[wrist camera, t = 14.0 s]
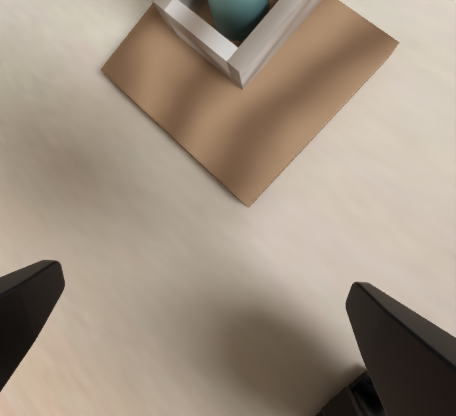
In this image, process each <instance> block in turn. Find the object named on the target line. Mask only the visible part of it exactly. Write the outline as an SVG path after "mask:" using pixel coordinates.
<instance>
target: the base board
mask: <svg viewBox="0 0 456 416" xmlns="http://www.w3.org/2000/svg"><path fill="white" fill-rule="evenodd" d="M153 2H154V3H153V4H152V5H151V7H150V8H149V9H148V10H147V12H146V13H145V14H144V15H143V17H142V18H141V19H140V20H139V22H138V23H137V24H136V25H135V27H134V28H133V29H132V31H131V32H130V33H129V34H128V36H127V37H126V38H125V39H124V41H123V42H122V43H121V44H120V46H119V47H118V48H117V49H116V51H115V52H114V53H113V54H112V56H111V57H110V58H109V60H108V61H107V62H106V63H105V65H104V66H103V67H102V68H101V71H102V72H103V73H104V74H105V75H106V76H108V77H109V78H110V79H111V80H112V81H113V82H114V83H115V84H116V85H117V86H118V87H119V88H120V89H122V90H123V91H124V92H125V93H126V94H127V95H128V96H129V97H130V98H131V99H132V100H133V101H134V102H135V103H137V104H138V105H139V106H140V107H141V108H142V109H143V110H144V111H145V112H146V113H147V114H148V115H149V116H151V117H152V118H153V119H154V120H155V121H156V122H157V123H158V124H159V125H160V126H161V127H162V128H163V129H164V130H166V131H167V132H168V133H169V134H170V135H171V136H172V137H173V138H174V139H175V140H176V141H177V142H178V143H179V144H181V145H182V146H183V147H184V148H185V149H186V150H187V151H188V152H189V153H190V154H191V155H192V156H193V157H195V158H196V159H197V160H198V161H199V162H200V163H201V164H202V165H203V166H204V167H205V168H206V169H207V170H208V171H210V172H211V173H212V174H213V175H214V176H215V177H216V178H217V179H218V180H219V181H220V182H221V183H222V184H224V185H225V186H226V187H227V188H228V189H229V190H230V191H231V192H232V193H233V194H234V195H235V196H236V197H237V198H239V199H240V200H241V201H242V202H243V203H244V204H245V205H246V206H247V207H250V206H251V205H252V203H253V202H254V201H255V200H256V199H257V198H258V197H259V196H260V195H261V194H262V193H263V192H264V191H265V190H266V188H267V187H268V186H269V185H270V184H271V183H272V182H273V181H274V180H275V179H276V178H277V177H278V176H279V174H280V173H281V172H282V171H283V170H284V169H285V168H286V167H287V166H288V165H289V164H290V163H291V162H292V161H293V159H294V158H295V157H296V156H297V155H298V154H299V153H300V152H301V151H302V150H303V149H304V148H305V147H306V146H307V144H308V143H309V142H310V141H311V140H312V139H313V138H314V137H315V136H316V135H317V134H318V133H319V132H320V130H321V129H322V128H323V127H324V126H325V125H326V124H327V123H328V122H329V121H330V120H331V119H332V118H333V117H334V115H335V114H336V113H337V112H338V111H339V110H340V109H341V108H342V107H343V106H344V105H345V104H346V103H347V101H348V100H349V99H350V98H351V97H352V96H353V95H354V94H355V93H356V92H357V91H358V90H359V89H360V88H361V86H362V85H363V84H364V83H365V82H366V81H367V80H368V79H369V78H370V77H371V76H372V75H373V74H374V72H375V71H376V70H377V69H378V68H379V67H380V66H381V65H382V64H383V63H384V62H385V61H386V60H387V59H388V57H389V56H390V55H391V54H392V52H393V51H394V50H395V48H396V47H397V45H398V44H399V42H398V41H397V40H395V39H394V38H392V37H391V36H389V35H388V34H386V33H385V32H384V31H382V30H381V29H379V28H378V27H376V26H375V25H373V24H372V23H371V22H369V21H368V20H366V19H365V18H363V17H362V16H360V15H359V14H358V13H356V12H355V11H353V10H352V9H350V8H349V7H348V6H346V5H345V4H343V3H342V2H340V1H339V0H269V12H268V14H267V15H266V16H265V17H264V18H263V19H262V21H261V22H260V23H259V24H258V25H257V26H256V28H255V29H254V30H253V31H252V32H251V34H250V35H249V36H248V37H247V38H246V39H245V40H242V41H233V40H229V39H227V38H225V37H224V36H223V35H221V34H220V33H219V32H218V30H217V29H216V26H215V23H214V20H213V17H212V13H211V10H210V6H209V3H208V0H154V1H153Z"/></svg>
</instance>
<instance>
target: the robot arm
mask: <svg viewBox="0 0 456 416" xmlns="http://www.w3.org/2000/svg"><path fill="white" fill-rule="evenodd" d="M64 287H65V280H64V276H63V271H62V267H61V264H60V262H59V261H55V260H42V261H39V262H37V263H34V264H32V265H29V266H27V267H24V268H22V269H19V270H17V271H14V272H12V273H10V274H7V275H5V276H2V277H0V392H1V390H2V389H3V387H4V386H5V384H6V383H7V382H8V380H9V379H10V377H11V376H12V374H13V373H14V371H15V370H16V368H17V367H18V365H19V364H20V362H21V361H22V360H23V358H24V357H25V355H26V354H27V352H28V351H29V349H30V348H31V346H32V345H33V343H34V342H35V340H36V338H37V337H38V335H39V333H40V332H41V330H42V328H43V326H44V325H45V323H46V321H47V319H48V317H49V316H50V314H51V312H52V310H53V308H54V307H55V305H56V303H57V301H58V299H59V298H60V296H61V294H62V292H63V290H64ZM346 311H347V314H348V317H349V320H350V323H351V326H352V329H353V332H354V335H355V338H356V341H357V344H358V347H359V350H360V353H361V356H362V359H363V361H364V363H365V366H366V368H367V371H366V372H364V373H362V374H361V375H360V376H359V377H358V378H357V379H356V380H355V381H354V382H352V383H351V384H350V385H349V386H348V387H346V388H344V389H343V390H342V391H341V392H340V393H338V394H337V395H336V396H335V397H334V398H333V399H332V400H331V401H330V402H329V403H328V404H326V405H325V406H324V407H323V409H322V411H321V412H320V413H319V414H318V415H317V416H456V338H455V337H454V336H452V335H450V334H449V333H447V332H446V331H444V330H442V329H441V328H439V327H438V326H436V325H435V324H433V323H431V322H430V321H428V320H427V319H425V318H423V317H422V316H420V315H419V314H417V313H416V312H414V311H412V310H411V309H409V308H408V307H406V306H404V305H403V304H401V303H400V302H398V301H396V300H395V299H393V298H392V297H390V296H389V295H387V294H385V293H384V292H382V291H381V290H379V289H377V288H376V287H374V286H373V285H371V284H369V283H367V282H354V283H353V284H352V286H351V289H350V291H349V294H348V297H347V300H346ZM368 378H371V381H370V382H367V379H368Z"/></svg>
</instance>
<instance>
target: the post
mask: <svg viewBox="0 0 456 416" xmlns="http://www.w3.org/2000/svg"><path fill="white" fill-rule="evenodd" d="M208 3H209V6H210V10H211V13H212V17H213V20H214V23H215V26H216V29H217V30H218V32H219V33H220V34H221V35H223V36H224V37H225V38H227V39H229V40H233V41H242V40H245V39H246V38H247V37H248V36H249V35H250V34H251V32H252V31H253V30H254V29H255V28H256V26H257V25H258V24H259V23H260V22H261V21H262V19H263V18H264V17H265V16H266V15H267V14H268V12H269V0H208Z"/></svg>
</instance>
